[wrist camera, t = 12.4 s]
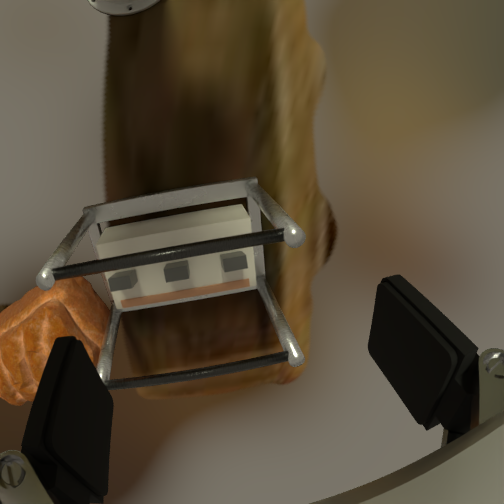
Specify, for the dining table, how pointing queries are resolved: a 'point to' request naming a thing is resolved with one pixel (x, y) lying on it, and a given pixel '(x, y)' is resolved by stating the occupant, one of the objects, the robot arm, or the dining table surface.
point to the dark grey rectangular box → (176, 271)
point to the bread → (46, 333)
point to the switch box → (201, 267)
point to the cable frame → (171, 200)
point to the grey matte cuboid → (233, 261)
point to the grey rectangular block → (122, 280)
